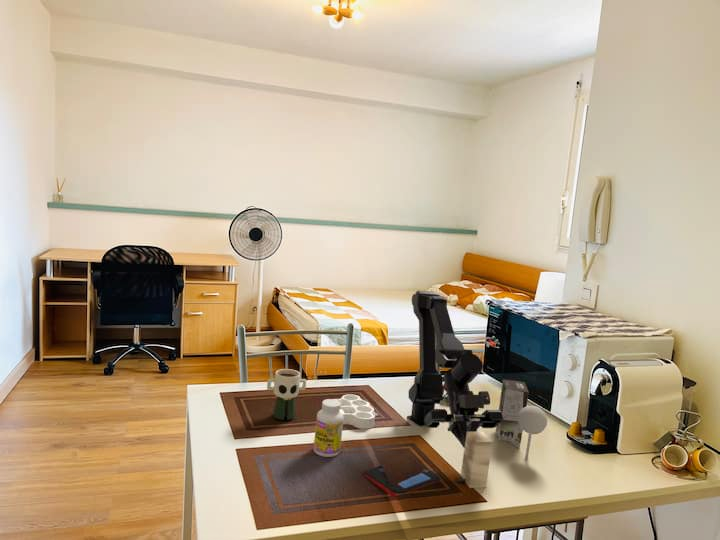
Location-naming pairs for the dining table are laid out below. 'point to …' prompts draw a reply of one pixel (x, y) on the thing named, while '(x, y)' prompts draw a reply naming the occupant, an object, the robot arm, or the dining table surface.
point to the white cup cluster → (357, 412)
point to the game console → (405, 486)
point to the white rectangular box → (476, 459)
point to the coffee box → (511, 411)
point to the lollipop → (532, 422)
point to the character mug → (285, 392)
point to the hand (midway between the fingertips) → (470, 454)
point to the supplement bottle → (328, 429)
